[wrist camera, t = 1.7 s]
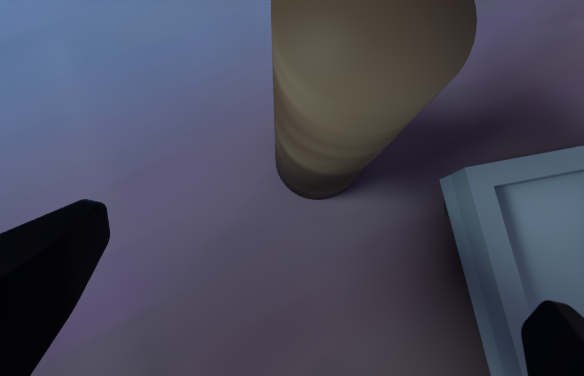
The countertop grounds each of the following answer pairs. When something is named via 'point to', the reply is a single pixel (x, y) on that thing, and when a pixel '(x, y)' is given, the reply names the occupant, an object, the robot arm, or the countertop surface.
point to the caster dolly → (518, 243)
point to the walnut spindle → (356, 80)
